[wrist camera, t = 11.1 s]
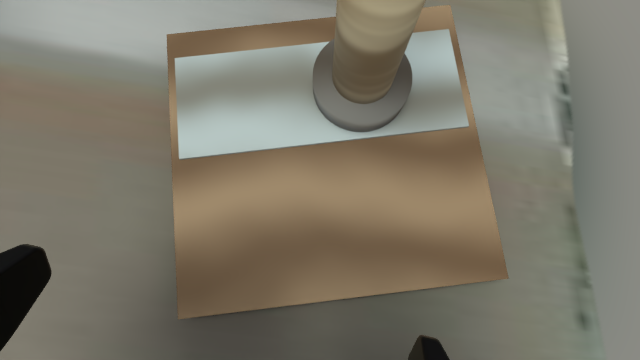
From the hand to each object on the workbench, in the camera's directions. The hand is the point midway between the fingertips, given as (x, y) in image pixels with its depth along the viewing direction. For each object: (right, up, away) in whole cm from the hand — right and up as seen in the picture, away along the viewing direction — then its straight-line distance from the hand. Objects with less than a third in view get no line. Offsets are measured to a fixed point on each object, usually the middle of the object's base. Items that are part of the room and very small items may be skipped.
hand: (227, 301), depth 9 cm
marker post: (+4, +8, +14) cm, 17 cm away
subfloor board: (+2, +4, +14) cm, 15 cm away
